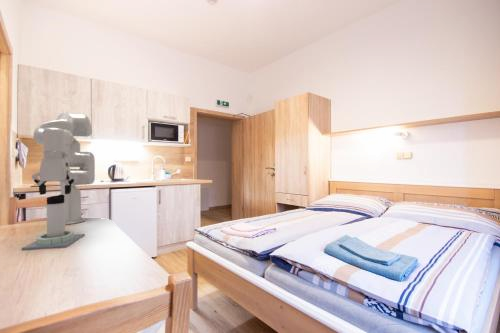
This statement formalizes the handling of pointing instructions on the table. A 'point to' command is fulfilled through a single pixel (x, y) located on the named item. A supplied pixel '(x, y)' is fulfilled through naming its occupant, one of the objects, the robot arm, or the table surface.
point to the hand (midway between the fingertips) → (55, 194)
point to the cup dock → (62, 245)
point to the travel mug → (55, 216)
